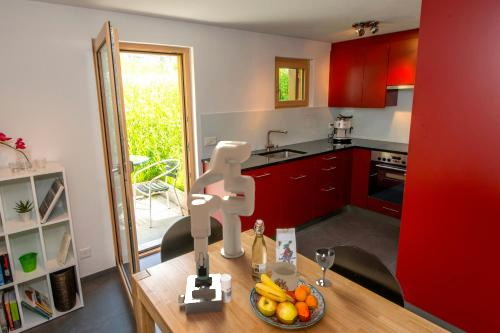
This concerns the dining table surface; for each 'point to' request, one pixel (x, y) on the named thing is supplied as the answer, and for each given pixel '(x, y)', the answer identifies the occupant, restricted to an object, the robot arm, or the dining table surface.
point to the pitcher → (285, 275)
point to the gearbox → (202, 295)
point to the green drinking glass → (206, 269)
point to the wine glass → (324, 264)
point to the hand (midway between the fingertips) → (202, 271)
